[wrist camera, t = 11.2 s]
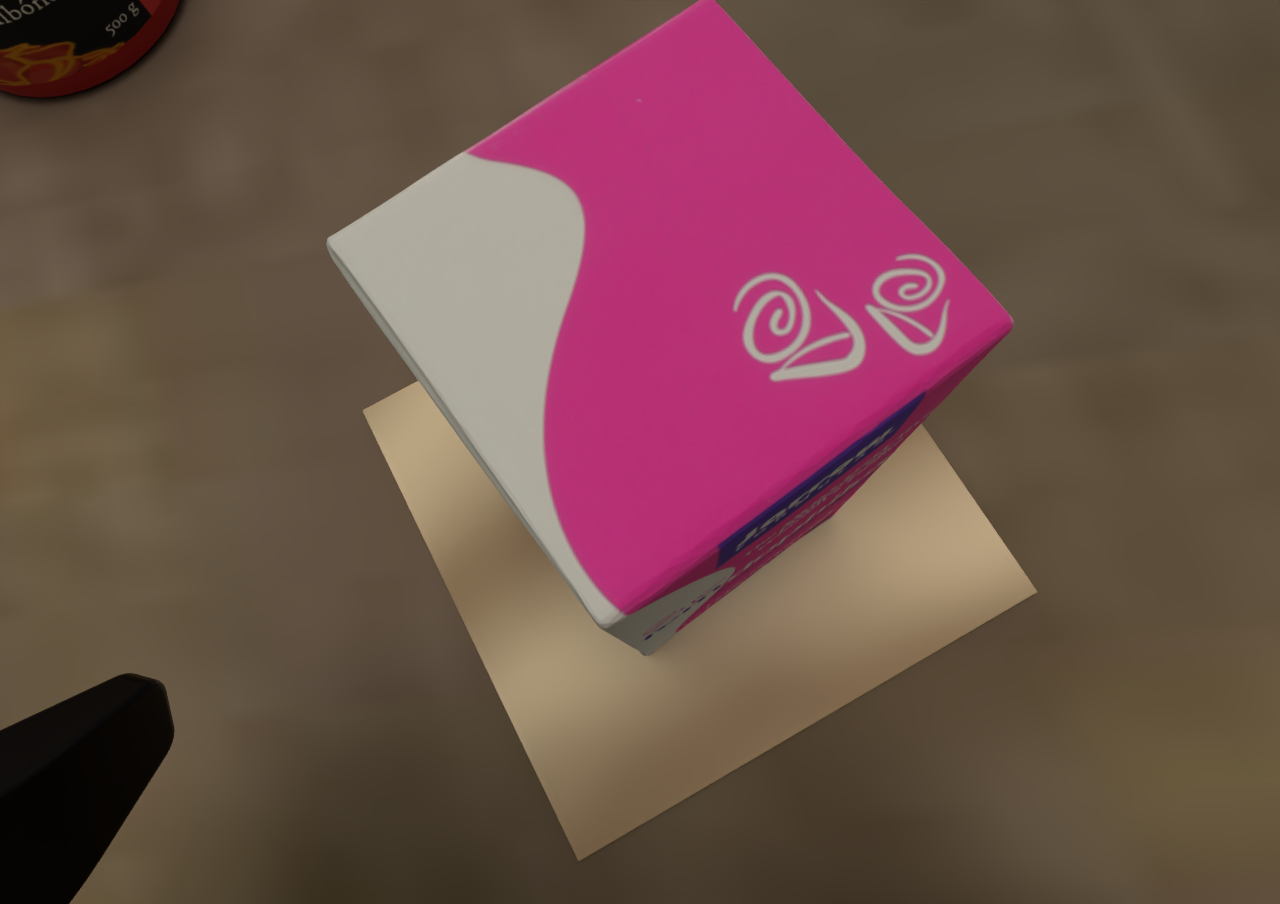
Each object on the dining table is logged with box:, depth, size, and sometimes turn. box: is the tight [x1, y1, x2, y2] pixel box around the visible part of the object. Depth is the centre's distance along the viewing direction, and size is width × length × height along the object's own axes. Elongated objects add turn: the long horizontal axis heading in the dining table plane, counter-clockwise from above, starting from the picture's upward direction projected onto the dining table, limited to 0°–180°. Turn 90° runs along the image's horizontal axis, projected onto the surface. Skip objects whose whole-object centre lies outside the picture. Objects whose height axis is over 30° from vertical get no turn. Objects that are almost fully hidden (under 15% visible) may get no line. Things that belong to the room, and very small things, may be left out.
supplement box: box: [327, 0, 1014, 656], centre depth 15 cm, size 6×6×12 cm
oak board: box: [362, 381, 1037, 861], centre depth 21 cm, size 12×12×1 cm
